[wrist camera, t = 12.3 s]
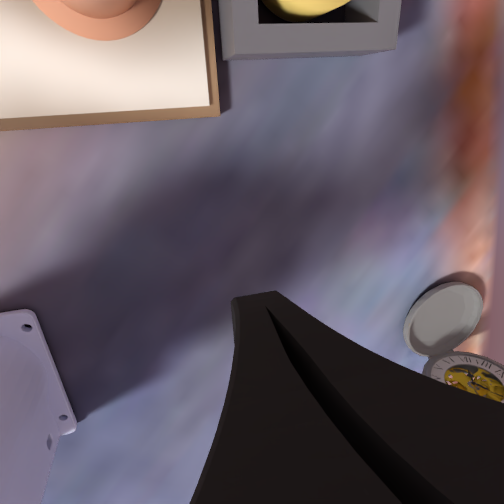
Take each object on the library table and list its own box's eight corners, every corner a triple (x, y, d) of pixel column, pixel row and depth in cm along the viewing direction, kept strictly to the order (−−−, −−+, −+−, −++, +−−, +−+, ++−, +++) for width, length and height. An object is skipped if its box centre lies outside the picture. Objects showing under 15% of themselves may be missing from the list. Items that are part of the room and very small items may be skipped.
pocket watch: (454, 261, 25) (612, 351, 17) (490, 321, 29) (634, 420, 20) (368, 333, 26) (476, 456, 17) (415, 382, 30) (522, 501, 21)
